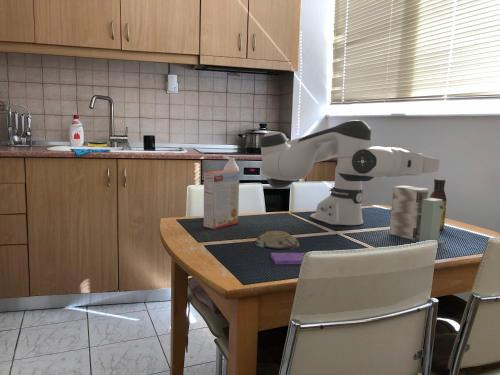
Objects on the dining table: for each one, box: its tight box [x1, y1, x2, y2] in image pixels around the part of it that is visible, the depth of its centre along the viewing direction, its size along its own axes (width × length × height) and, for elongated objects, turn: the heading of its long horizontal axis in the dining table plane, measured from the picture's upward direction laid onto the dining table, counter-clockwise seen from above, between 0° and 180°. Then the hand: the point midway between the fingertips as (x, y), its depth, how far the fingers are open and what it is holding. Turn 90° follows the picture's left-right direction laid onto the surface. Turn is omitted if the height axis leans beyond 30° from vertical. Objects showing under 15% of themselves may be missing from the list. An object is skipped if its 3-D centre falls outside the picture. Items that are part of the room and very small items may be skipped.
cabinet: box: [389, 184, 447, 246], centre depth 153 cm, size 18×10×18 cm, turn 40°
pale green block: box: [419, 197, 444, 241], centre depth 149 cm, size 5×6×15 cm
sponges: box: [270, 252, 306, 265], centre depth 125 cm, size 7×13×2 cm, turn 97°
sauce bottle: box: [429, 178, 448, 230], centre depth 171 cm, size 7×6×20 cm
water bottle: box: [222, 155, 240, 172], centre depth 178 cm, size 9×6×25 cm
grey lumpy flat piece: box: [254, 230, 300, 251], centre depth 142 cm, size 15×4×15 cm
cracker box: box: [203, 169, 240, 230], centre depth 162 cm, size 14×6×21 cm, turn 141°
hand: (417, 162), depth 139 cm, fingers open, 8 cm apart
